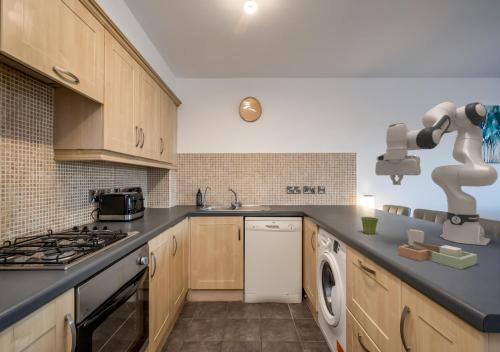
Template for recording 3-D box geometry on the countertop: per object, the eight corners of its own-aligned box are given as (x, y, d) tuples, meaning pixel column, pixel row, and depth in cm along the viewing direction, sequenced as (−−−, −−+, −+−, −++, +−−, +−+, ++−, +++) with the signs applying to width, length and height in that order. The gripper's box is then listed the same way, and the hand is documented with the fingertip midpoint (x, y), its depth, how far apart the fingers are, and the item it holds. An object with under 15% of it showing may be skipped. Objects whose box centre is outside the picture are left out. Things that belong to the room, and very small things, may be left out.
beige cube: (427, 247, 111) (427, 232, 111) (410, 246, 112) (410, 231, 112) (420, 243, 118) (420, 229, 118) (404, 242, 119) (404, 228, 119)
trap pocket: (405, 253, 102) (405, 244, 102) (427, 259, 95) (427, 250, 95) (398, 254, 100) (398, 246, 100) (420, 261, 93) (420, 252, 93)
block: (446, 258, 96) (446, 245, 96) (461, 263, 91) (461, 248, 91) (439, 260, 93) (439, 246, 93) (455, 265, 89) (455, 250, 89)
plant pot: (375, 231, 143) (376, 217, 143) (380, 235, 133) (380, 219, 133) (358, 230, 145) (359, 216, 145) (362, 234, 135) (362, 219, 136)
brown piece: (415, 248, 109) (415, 241, 109) (446, 256, 98) (446, 248, 98) (401, 251, 104) (401, 243, 104) (432, 260, 93) (432, 251, 93)
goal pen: (447, 256, 99) (447, 247, 99) (477, 263, 90) (477, 254, 90) (431, 261, 93) (431, 252, 93) (460, 269, 85) (461, 259, 85)
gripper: (423, 155, 109) (423, 185, 109) (381, 158, 127) (381, 184, 127) (416, 154, 106) (415, 185, 106) (373, 157, 124) (373, 184, 125)
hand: (396, 184), depth 117 cm, fingers closed
